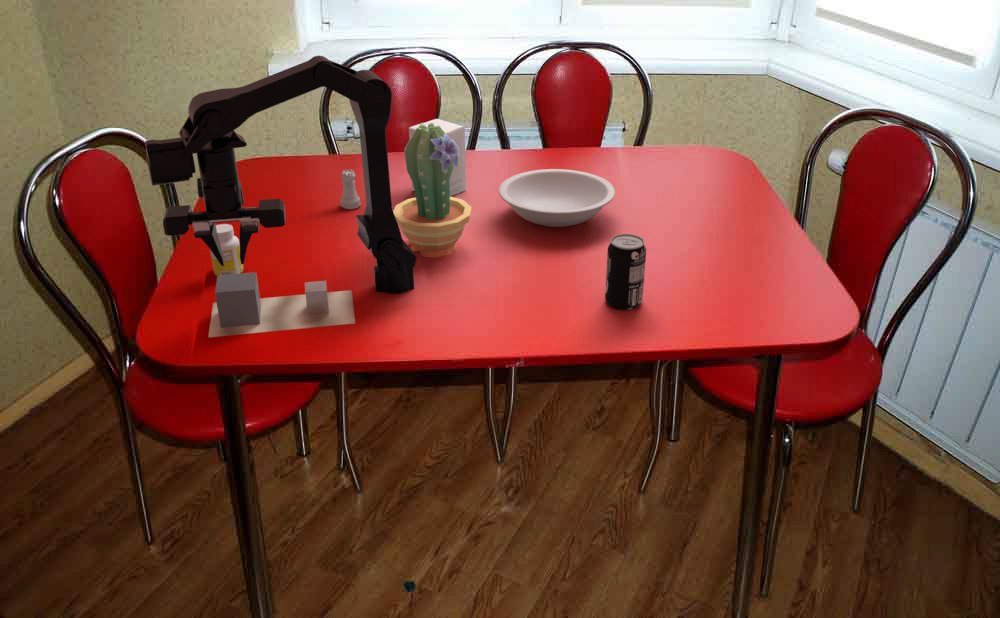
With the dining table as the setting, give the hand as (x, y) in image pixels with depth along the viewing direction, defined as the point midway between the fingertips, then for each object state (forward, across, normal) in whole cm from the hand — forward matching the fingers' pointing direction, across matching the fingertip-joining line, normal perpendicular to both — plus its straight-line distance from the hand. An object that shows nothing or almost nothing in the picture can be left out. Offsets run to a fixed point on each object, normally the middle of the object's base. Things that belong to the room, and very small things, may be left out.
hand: (232, 264), depth 159 cm
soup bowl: (+11, -63, -32) cm, 72 cm away
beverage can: (+11, -66, +6) cm, 67 cm away
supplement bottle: (+11, +3, -18) cm, 21 cm away
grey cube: (+11, -13, 0) cm, 17 cm away
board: (+11, -7, 0) cm, 13 cm away
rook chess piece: (+11, -21, -47) cm, 53 cm away
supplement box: (+11, -41, -52) cm, 67 cm away
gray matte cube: (+10, 0, 0) cm, 10 cm away
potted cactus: (+11, -36, -23) cm, 44 cm away
